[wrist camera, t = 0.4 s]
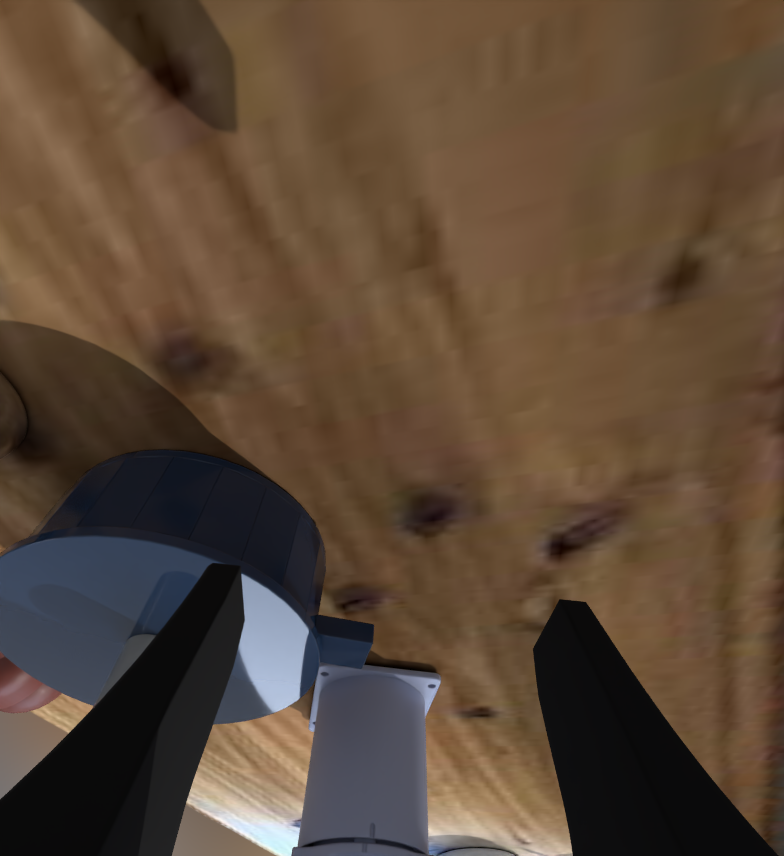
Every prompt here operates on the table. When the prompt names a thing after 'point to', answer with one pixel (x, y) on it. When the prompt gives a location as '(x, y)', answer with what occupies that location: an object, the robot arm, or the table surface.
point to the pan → (216, 526)
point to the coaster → (476, 852)
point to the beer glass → (11, 418)
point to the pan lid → (142, 615)
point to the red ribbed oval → (21, 689)
